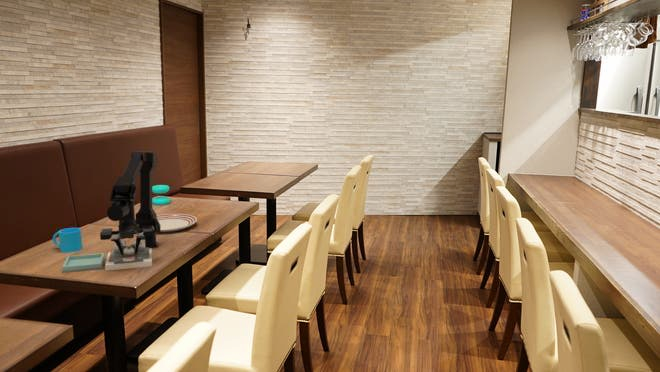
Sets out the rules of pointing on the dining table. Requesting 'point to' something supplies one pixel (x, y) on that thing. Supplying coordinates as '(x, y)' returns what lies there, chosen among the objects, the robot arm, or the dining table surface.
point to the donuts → (162, 199)
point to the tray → (83, 262)
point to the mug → (69, 240)
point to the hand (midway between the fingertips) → (129, 254)
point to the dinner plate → (175, 221)
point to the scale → (129, 260)
